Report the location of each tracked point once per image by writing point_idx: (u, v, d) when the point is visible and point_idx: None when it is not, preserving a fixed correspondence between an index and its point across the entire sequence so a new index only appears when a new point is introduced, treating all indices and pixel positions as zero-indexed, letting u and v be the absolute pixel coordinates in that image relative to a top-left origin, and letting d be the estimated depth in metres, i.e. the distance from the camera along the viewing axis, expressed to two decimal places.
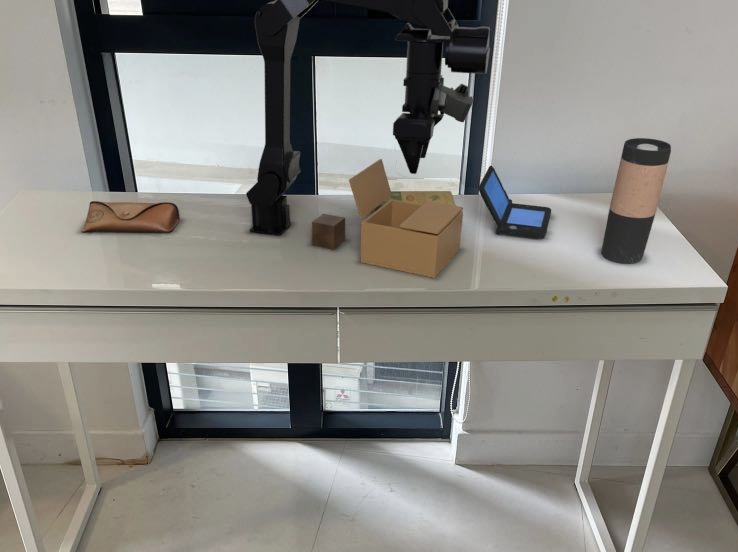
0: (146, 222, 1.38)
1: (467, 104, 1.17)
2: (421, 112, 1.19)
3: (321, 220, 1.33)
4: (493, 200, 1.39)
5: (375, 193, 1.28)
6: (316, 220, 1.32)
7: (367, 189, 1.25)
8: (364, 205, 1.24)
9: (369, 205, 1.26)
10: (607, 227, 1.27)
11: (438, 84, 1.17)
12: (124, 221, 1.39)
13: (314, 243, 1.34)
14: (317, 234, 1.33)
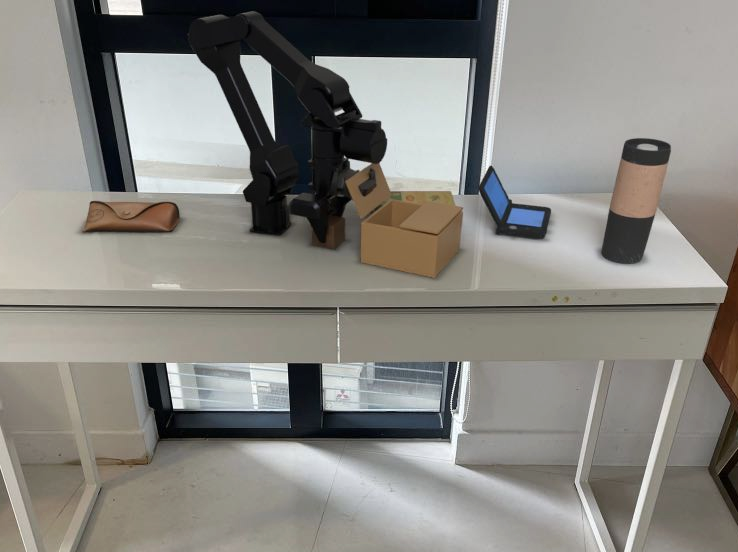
0: (147, 221, 1.39)
1: (362, 189, 1.24)
2: (323, 192, 1.27)
3: None
4: (493, 200, 1.39)
5: (374, 193, 1.28)
6: None
7: None
8: (363, 205, 1.24)
9: (368, 205, 1.26)
10: (607, 227, 1.27)
11: (336, 168, 1.24)
12: (125, 221, 1.39)
13: (314, 243, 1.34)
14: None
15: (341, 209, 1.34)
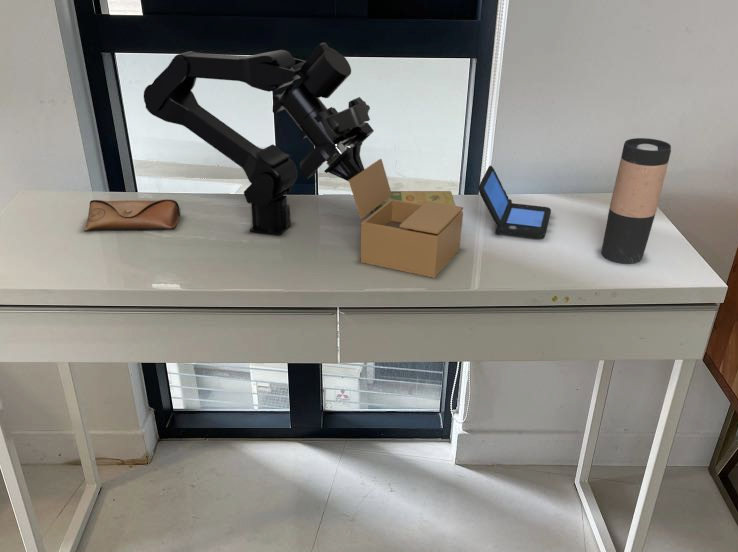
0: (149, 219, 1.40)
1: (350, 109, 1.19)
2: None
3: None
4: (493, 200, 1.39)
5: (375, 193, 1.28)
6: None
7: (367, 189, 1.25)
8: (364, 205, 1.24)
9: (369, 205, 1.26)
10: (607, 227, 1.27)
11: (321, 115, 1.22)
12: (127, 219, 1.39)
13: None
14: None
15: (356, 160, 1.26)
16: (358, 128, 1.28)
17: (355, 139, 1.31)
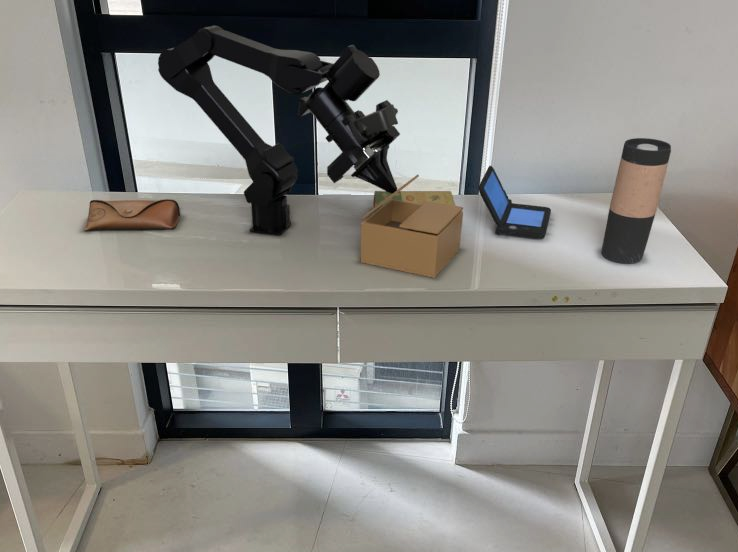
0: (149, 219, 1.40)
1: (379, 112, 1.17)
2: None
3: None
4: (493, 200, 1.39)
5: None
6: None
7: None
8: None
9: None
10: (607, 227, 1.27)
11: (348, 118, 1.20)
12: (127, 219, 1.40)
13: None
14: None
15: (383, 164, 1.24)
16: (385, 131, 1.26)
17: (381, 142, 1.29)
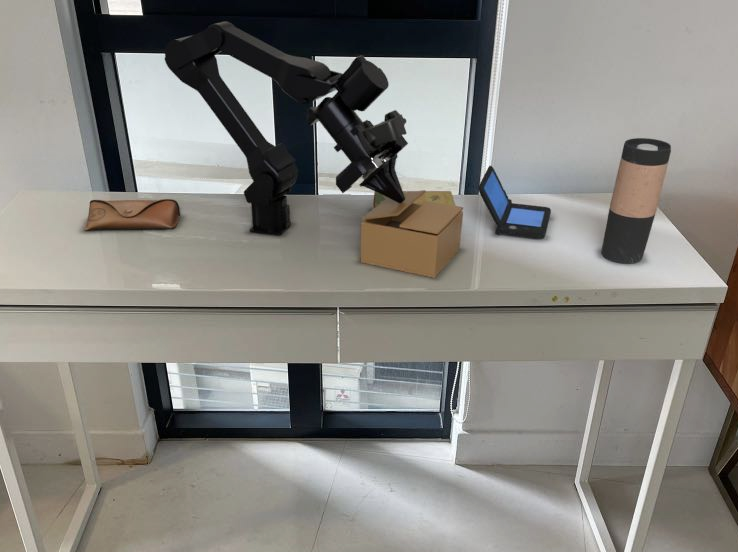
0: (149, 219, 1.40)
1: (387, 122, 1.17)
2: None
3: None
4: (493, 200, 1.39)
5: None
6: None
7: None
8: None
9: None
10: (607, 227, 1.27)
11: (357, 128, 1.20)
12: (128, 219, 1.40)
13: None
14: None
15: (391, 174, 1.25)
16: (393, 141, 1.27)
17: (389, 152, 1.29)
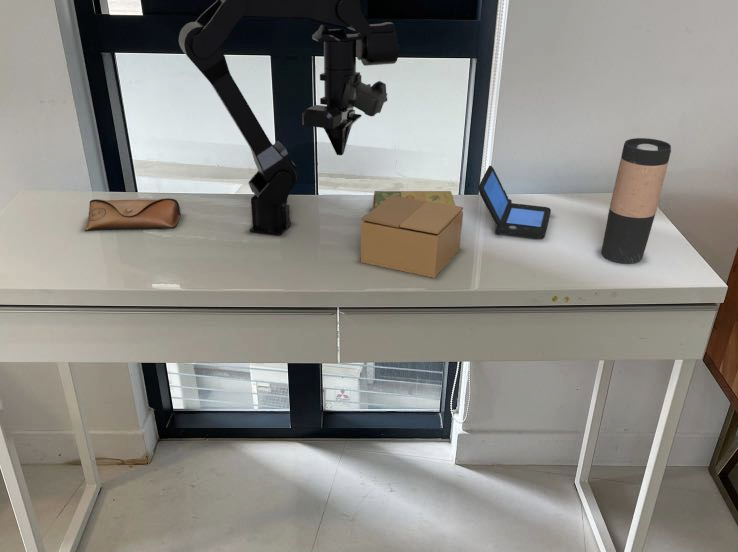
0: (150, 218, 1.40)
1: (374, 99, 1.27)
2: (335, 105, 1.30)
3: None
4: (493, 200, 1.39)
5: None
6: None
7: None
8: None
9: None
10: (607, 227, 1.27)
11: (348, 80, 1.27)
12: (128, 218, 1.40)
13: None
14: None
15: (346, 128, 1.35)
16: None
17: None
